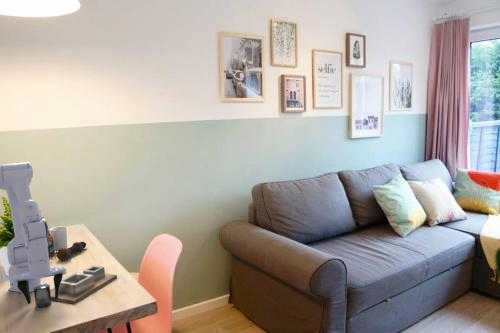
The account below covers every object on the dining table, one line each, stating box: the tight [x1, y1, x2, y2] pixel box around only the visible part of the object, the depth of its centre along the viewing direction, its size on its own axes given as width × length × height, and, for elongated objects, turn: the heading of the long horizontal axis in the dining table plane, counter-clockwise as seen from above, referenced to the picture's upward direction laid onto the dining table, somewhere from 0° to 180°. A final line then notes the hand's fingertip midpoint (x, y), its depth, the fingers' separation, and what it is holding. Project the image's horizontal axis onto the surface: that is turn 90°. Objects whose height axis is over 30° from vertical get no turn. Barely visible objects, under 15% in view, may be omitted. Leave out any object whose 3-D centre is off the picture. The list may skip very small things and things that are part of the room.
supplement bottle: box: [46, 230, 56, 258], centre depth 161 cm, size 6×6×11 cm
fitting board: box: [50, 265, 118, 304], centre depth 131 cm, size 14×20×4 cm
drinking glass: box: [49, 225, 68, 251], centre depth 169 cm, size 7×7×10 cm
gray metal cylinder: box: [33, 284, 52, 310], centre depth 119 cm, size 4×4×6 cm
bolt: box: [56, 241, 87, 262], centre depth 163 cm, size 6×5×15 cm
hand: (43, 299), depth 119 cm, fingers open, 7 cm apart
